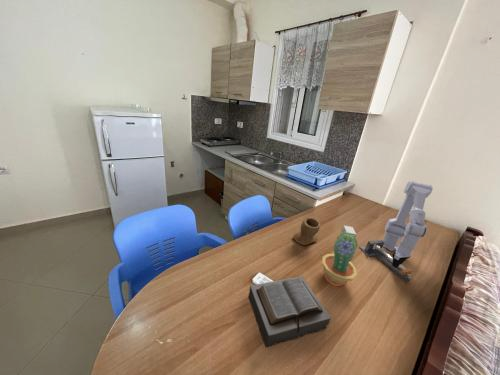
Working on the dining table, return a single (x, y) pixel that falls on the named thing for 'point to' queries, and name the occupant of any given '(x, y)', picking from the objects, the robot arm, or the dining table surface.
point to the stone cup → (307, 231)
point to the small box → (348, 230)
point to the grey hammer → (382, 257)
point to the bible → (286, 310)
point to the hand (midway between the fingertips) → (395, 265)
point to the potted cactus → (341, 260)
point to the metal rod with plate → (385, 254)
